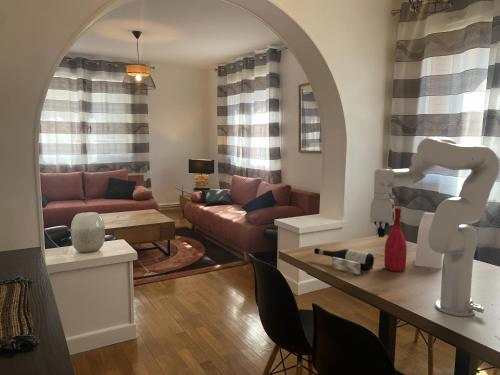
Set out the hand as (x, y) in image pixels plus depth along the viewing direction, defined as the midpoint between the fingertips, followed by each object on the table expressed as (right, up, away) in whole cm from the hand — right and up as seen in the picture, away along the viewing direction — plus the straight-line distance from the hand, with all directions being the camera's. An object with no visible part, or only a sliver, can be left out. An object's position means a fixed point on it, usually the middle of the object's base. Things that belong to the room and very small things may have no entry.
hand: (381, 236), depth 170 cm
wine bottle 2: (+10, -18, +12) cm, 23 cm away
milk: (+31, -17, +20) cm, 40 cm away
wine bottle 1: (-2, -13, +6) cm, 15 cm away
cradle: (-10, -17, +12) cm, 23 cm away
